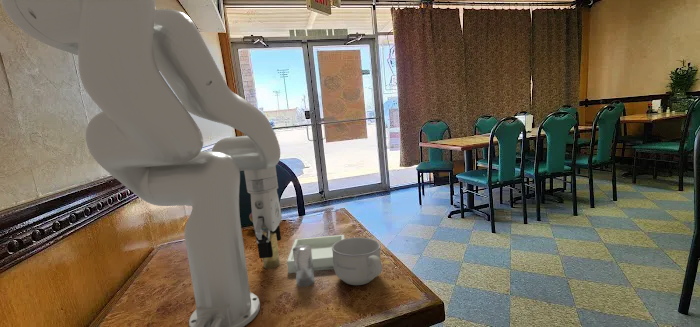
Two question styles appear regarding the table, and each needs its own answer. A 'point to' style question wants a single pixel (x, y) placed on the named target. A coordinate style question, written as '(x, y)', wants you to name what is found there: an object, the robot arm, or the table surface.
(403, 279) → the table surface
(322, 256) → the tray
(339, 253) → the teacup
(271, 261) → the brass roller
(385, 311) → the table surface
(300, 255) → the steel roller
